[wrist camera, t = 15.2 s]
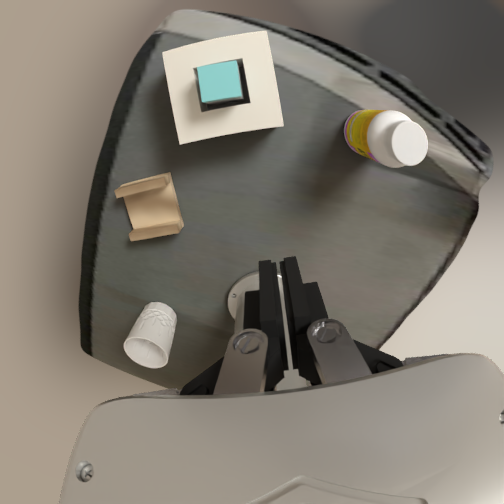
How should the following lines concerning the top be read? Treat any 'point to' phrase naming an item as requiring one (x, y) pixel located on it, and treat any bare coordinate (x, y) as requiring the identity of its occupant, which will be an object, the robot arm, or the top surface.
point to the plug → (220, 83)
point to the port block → (229, 114)
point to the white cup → (152, 336)
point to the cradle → (151, 207)
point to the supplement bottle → (386, 137)
